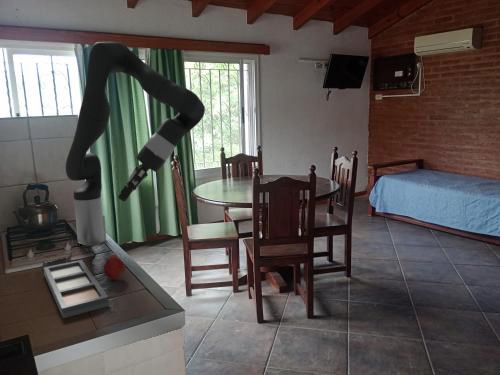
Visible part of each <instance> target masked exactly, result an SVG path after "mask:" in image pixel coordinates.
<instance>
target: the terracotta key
mask: <svg viewBox="0 0 500 375" xmlns="http://www.w3.org/2000/svg"><path fill="white" fill-rule="evenodd" d="M62 297H63V299H64V301H65V303H66V305H69V304H73V303H77V302H81V301H85V300H89V299H93V298H97V297H99V296H98V294H97V293H96V291H95V290H94V288H92V289H88V290H84V291H80V292H76V293H72V294H67V295H63V296H62Z"/></svg>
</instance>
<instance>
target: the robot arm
mask: <svg viewBox="0 0 500 375" xmlns="http://www.w3.org/2000/svg"><path fill="white" fill-rule="evenodd" d="M86 71H87V73H86V80H85V85H84V86H85V87H84V93H83V95H82V96H83V98H82V102H81V105H80V109H79V113H78V118H77V124H76V129H75V133H74V137H73V139H72V143H71V146H70V149H69V152H68V155H67V157H66V161H65V174H66V177H67V178H68V179H69V180H70V181H75V182H77V181H84V182H83V184H82V185H81V186H80V187H78V188H77V189H75V190H74V191H73V203H74V214H75V224H76V225H75V226H76V235H77V237H76V238H77V244H78V243H79V244H83V245H87V246H86V247H93V246H99V245H101V244H103V243H104V242H105V241H106V240H107V232H106V231H107V230H106V219H105V218H106V216H105V215H103V208H102V204H103V203H102V195H101V192H102V188H103V187H102V165H101V164H102V163H101V160H100V157H99V156H98V155H97V154H96V153H91V152H90V153H88V151H89V149H90V148H91V147H92V146H93V144H94V143H96V142H97V141H98V140H99V139H100V137H102V135H103V134H104V132H105V131H106V130H107V127H108V124H109V120H110V117H111V106H110V103H109V99H108V97H107V94H106V93H107V92H106V87H107V83H108V78H109V76H110V74H116V73H118V74H119V73H124V74H125V75H128V76H130V77H132V78H134V79H135V80H136V81H137V82H138V84H139V86H140V87H141V88H142V90H143V91H144V92H145V93H146V94H148V95H149V96H150V97H152V98H153V99H154V100H156V101H158V102H159V103H161V104H163V105H165V106H169V107H171V108H172V109H173V110H175V111H176V112H177V113H178V114H176V115H175V116H174V117H173V118H170V117H169V118H166V119H165V120H163V122H162V123H161V124H160V125H159V127H158V128H157V129H156V131H155V132H154V134H152V135H151V136H150V138H149V139H148V140H147V141H146V142H145V144H144V145H143V147H142V148H141V149H140V150H139V152H138V153H137V154H136V157H135V158H136V159H137V160H138V161H139V162H140V164H139V165H136V166H135V167H134V169H133V170H132V172H131V174H130V175H129V177H128V180H127V183H126V184H125V185H124V187H123V188H122V189H121V191H120V194H119V195H118V199H119V200H121V201H122V202H126V201H127V200H128V198H129V196H130V195H131V194H132V193H133V192H134V191H136V190H137V188H138V187H139V186H140V185H141V184H142V183H143V181H144V180H145V179H147V177H148V175H149V174H148V171H149V170H151V171H153V172H154V173H158V172H160V170H161V169H162V167H163V166H164V164H165V163H166V162H167V160H168V159H169V158H170V157H171V155H172V154H173V152H174V150H175V149H176V147H177V145H179V143H180V142H181V140H183V137H184V136H185V135H186V134H188V133H189V132H190V131H191V130H193V129H194V128H195V127H196V126H197V125H198V124H199V123H200V122H201V120H202V119H203V117H204V115H205V111H206V107H205V104H204V103H203V102H202V100H201V99H200V98H199V96H198V95H197V94H196V93H195V92H193V91H192V90H190V89H188V88H186V87H184V86H181V85H179V84H177V83H175V82H174V81H172V80H171V79H169V78H167V77H165V75H162V74H161V73H160V72H158V71H156V70H155V69H153V68H152V67H151V66H149V65H148V64H146V63H145V62H144V61H143V60H142V59H141V58H140V57H138V56H137V55H136V54H135V53H134V52H133V51H132V50H130V49H129V48H128V47H127V46H126V45H124V44H123V43H121V42H119V41H97V42H95V43H94V44H93V45H92V47H91V48H90V51H89V55H88V63H87V69H86Z"/></svg>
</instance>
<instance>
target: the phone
mask: <svg viewBox="0 0 500 375" xmlns="http://www.w3.org/2000/svg"><path fill="white" fill-rule="evenodd" d="M69 262H71V258H70V257H68V258H63V259H58V260H55V261H52V262H47V263H44V262H43V263H42V265H41V266H42V267H41V270H42V272H44V267H49V266H54V265H59V264H64V263H69Z"/></svg>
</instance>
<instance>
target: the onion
mask: <svg viewBox="0 0 500 375" xmlns="http://www.w3.org/2000/svg"><path fill="white" fill-rule="evenodd" d="M102 271H103V273H104V275H105V276H106V277H107V278H109V279H110V280H114V281H116V280H118V279H119V278H120V277H121V276H122V275H123V273H124V272H125V264H124V262H123V260H122V259H121V258H119V257H118V256H117V255H116V253H112V254H111V255H110V257H109V258H107V259H106V261H105V262H104V264H103V270H102Z"/></svg>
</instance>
